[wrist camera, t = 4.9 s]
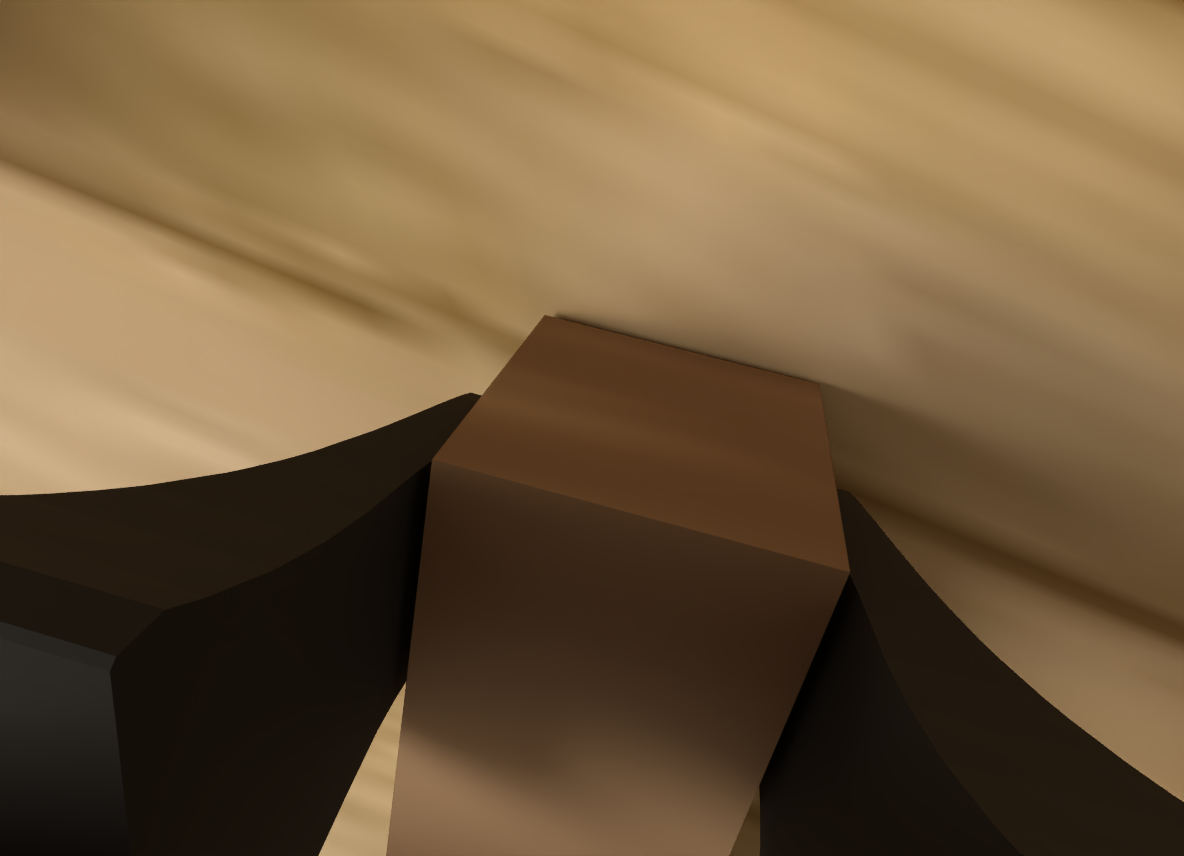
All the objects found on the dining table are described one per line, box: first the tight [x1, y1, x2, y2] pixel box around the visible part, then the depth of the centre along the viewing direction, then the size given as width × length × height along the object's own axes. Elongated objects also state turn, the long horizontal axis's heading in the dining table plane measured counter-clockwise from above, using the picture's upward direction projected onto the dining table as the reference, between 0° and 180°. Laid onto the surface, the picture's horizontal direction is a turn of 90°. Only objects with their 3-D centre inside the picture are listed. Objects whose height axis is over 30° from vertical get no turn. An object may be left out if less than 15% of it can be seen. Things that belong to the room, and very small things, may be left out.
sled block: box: [386, 315, 850, 856], centre depth 13 cm, size 14×4×4 cm, turn 169°
